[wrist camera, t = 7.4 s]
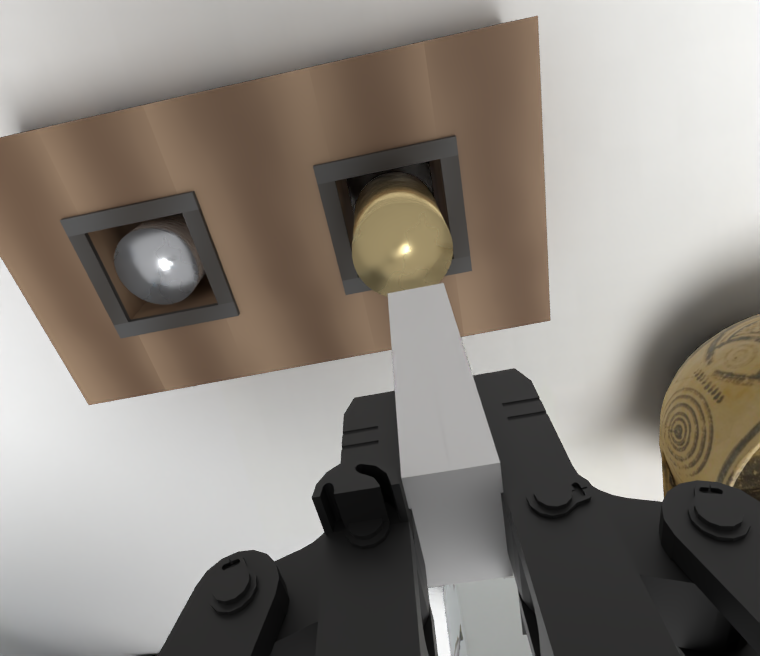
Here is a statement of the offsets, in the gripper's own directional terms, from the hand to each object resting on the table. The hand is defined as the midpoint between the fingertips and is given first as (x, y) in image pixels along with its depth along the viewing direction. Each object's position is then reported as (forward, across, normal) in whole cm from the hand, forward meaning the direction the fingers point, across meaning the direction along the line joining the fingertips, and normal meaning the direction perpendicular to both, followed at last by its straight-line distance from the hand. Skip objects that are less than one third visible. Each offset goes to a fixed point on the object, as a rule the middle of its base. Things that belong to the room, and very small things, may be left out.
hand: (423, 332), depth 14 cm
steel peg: (+17, -12, 0) cm, 21 cm away
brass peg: (+12, 0, 0) cm, 12 cm away
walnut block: (+17, -6, 0) cm, 18 cm away
